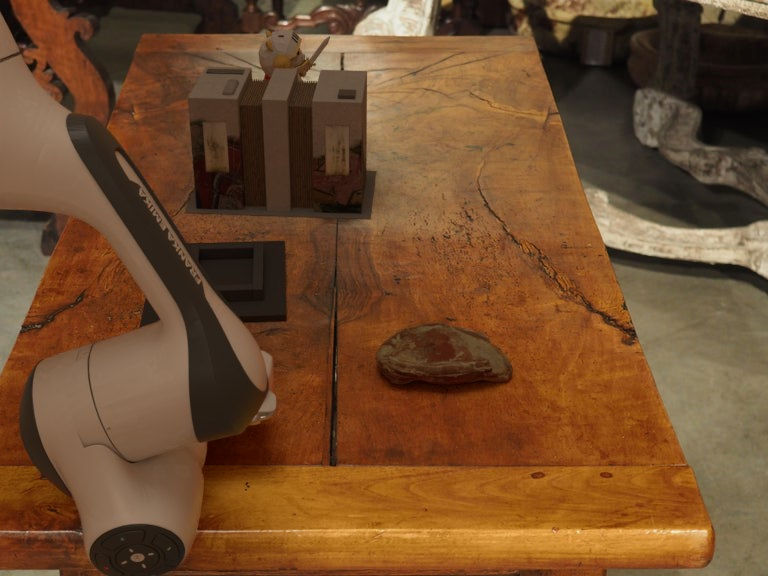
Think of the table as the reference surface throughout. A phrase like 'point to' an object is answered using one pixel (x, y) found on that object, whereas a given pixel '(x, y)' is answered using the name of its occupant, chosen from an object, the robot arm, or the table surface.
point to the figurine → (286, 53)
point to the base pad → (247, 276)
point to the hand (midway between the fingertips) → (170, 340)
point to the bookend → (280, 144)
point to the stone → (441, 356)
